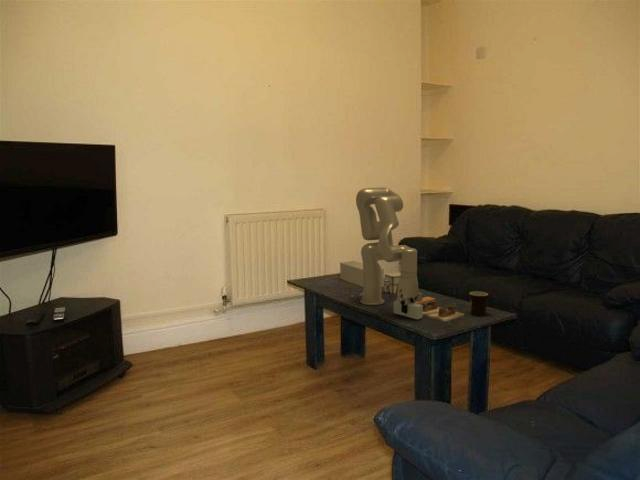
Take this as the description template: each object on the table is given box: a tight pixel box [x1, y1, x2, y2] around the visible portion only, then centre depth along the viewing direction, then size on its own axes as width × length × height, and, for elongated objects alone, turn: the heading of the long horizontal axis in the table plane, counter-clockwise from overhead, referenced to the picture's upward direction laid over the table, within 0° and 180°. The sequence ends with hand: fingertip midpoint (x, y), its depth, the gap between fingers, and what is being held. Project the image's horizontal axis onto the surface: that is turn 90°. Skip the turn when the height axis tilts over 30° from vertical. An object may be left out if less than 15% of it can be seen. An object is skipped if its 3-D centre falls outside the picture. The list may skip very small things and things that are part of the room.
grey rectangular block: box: [339, 260, 385, 288], centre depth 315 cm, size 32×11×11 cm, turn 29°
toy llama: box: [383, 261, 401, 295], centre depth 290 cm, size 8×18×20 cm, turn 119°
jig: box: [421, 300, 465, 323], centre depth 247 cm, size 20×14×4 cm
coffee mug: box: [469, 290, 489, 317], centre depth 247 cm, size 12×9×10 cm
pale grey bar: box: [393, 299, 423, 320], centre depth 244 cm, size 14×4×6 cm, turn 43°
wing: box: [407, 291, 436, 305], centre depth 260 cm, size 5×20×7 cm, turn 128°
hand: (407, 311), depth 244 cm, fingers closed on pale grey bar, 4 cm apart
